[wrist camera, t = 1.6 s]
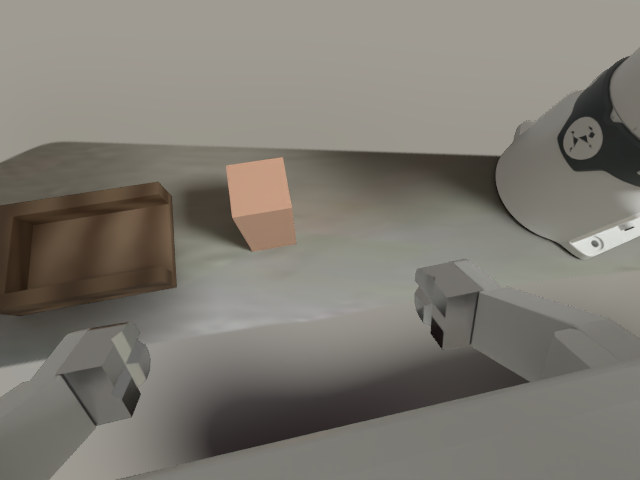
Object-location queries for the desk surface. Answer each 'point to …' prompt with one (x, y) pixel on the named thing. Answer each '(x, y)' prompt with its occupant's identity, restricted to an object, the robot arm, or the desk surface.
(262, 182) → the block
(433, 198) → the desk surface
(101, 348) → the robot arm
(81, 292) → the cradle
